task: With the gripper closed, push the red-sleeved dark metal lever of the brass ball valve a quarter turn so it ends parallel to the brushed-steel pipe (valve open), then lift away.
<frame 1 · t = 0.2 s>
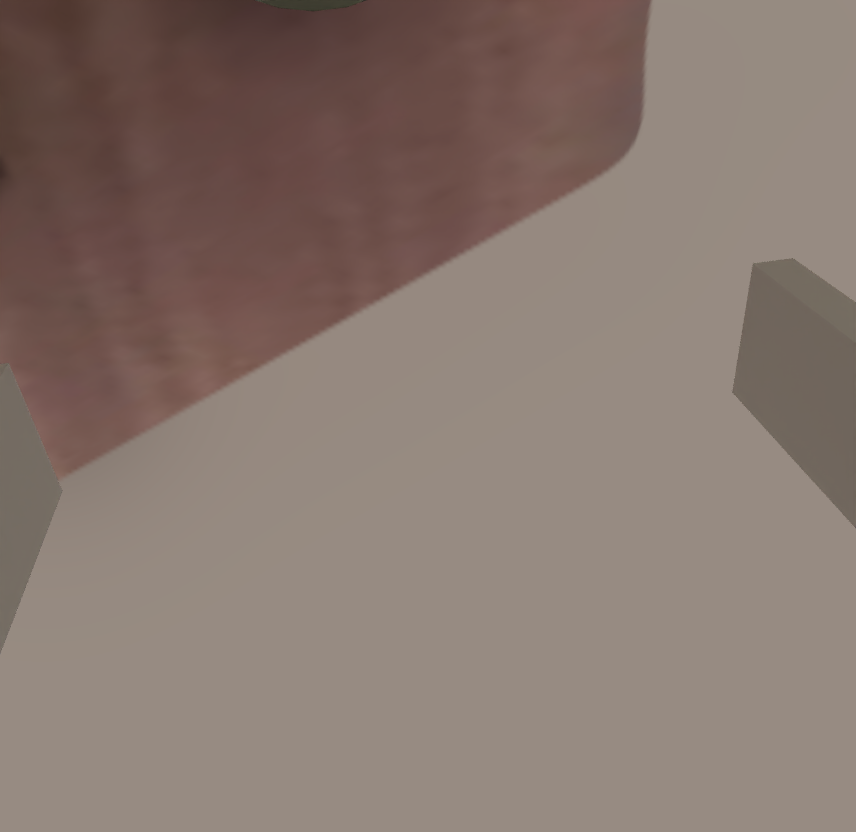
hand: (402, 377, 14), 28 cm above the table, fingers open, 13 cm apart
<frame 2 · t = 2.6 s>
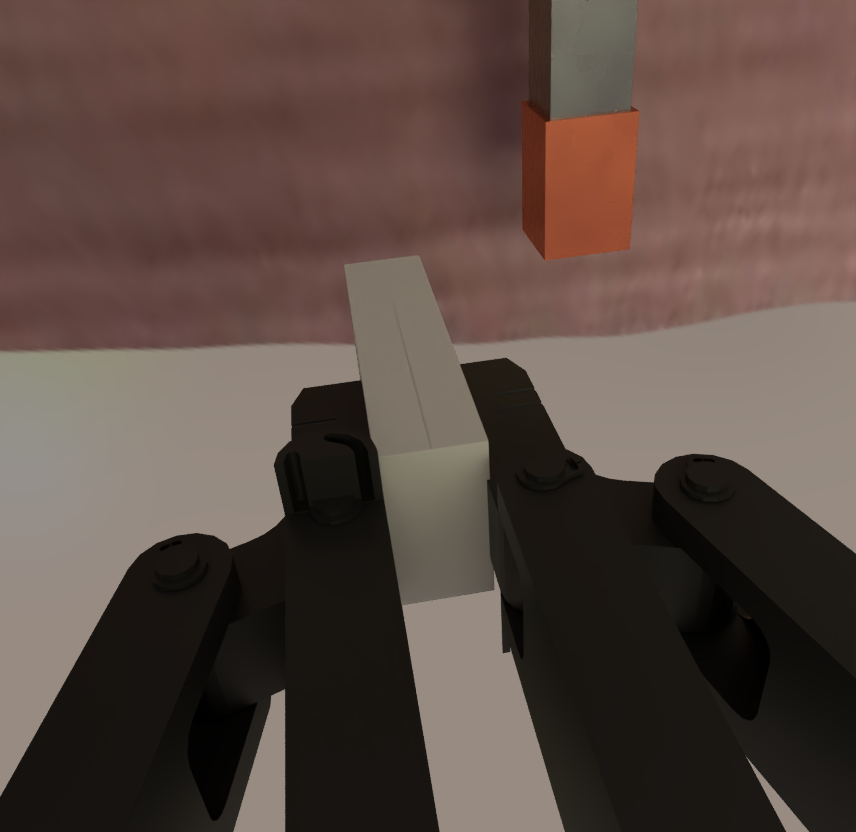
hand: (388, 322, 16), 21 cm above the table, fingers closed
lever: (581, 26, 24), point 10 cm above the table, hinge at 0.0°
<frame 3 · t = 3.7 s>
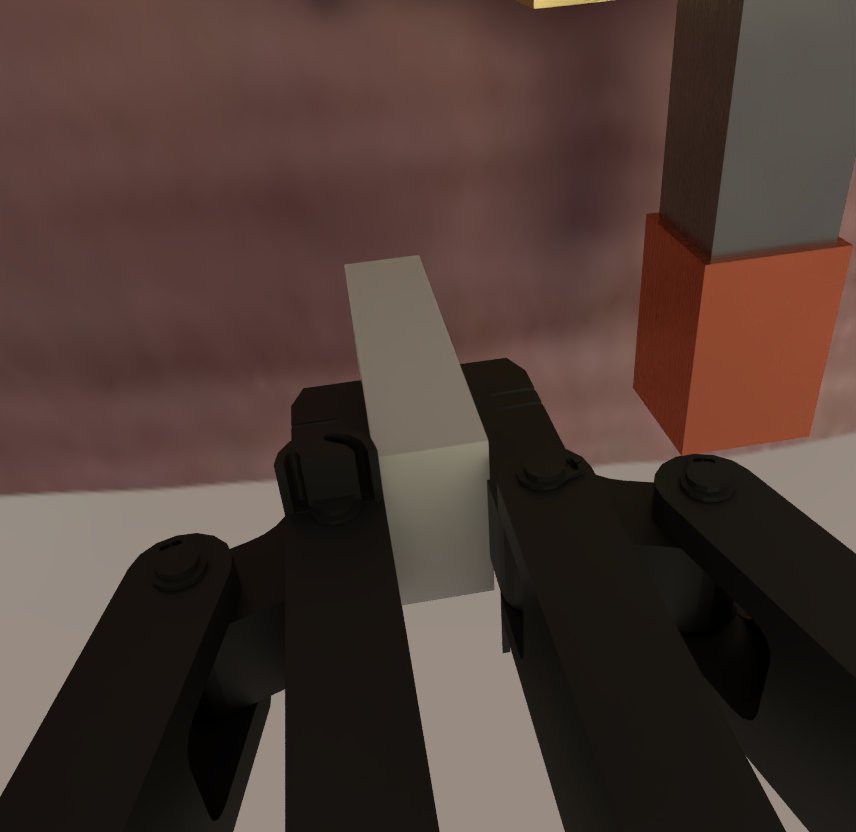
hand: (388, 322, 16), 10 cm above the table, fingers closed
lever: (764, 111, 15), point 10 cm above the table, hinge at 0.0°
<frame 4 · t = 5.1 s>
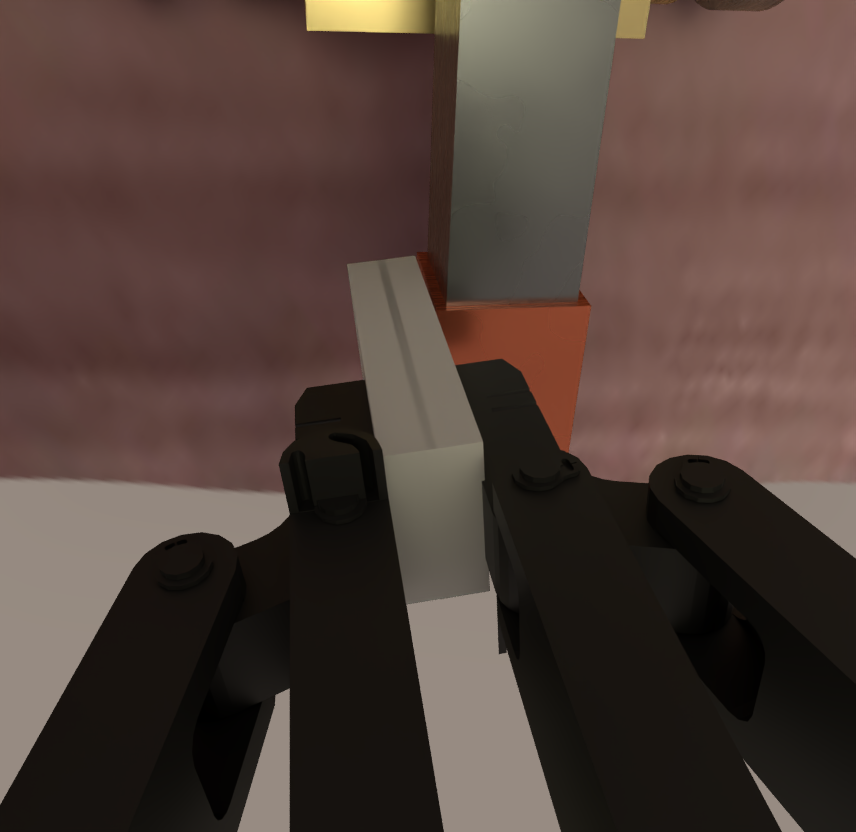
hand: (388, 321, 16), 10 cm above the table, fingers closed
lever: (510, 162, 14), point 10 cm above the table, hinge at 0.5°, touching gripper
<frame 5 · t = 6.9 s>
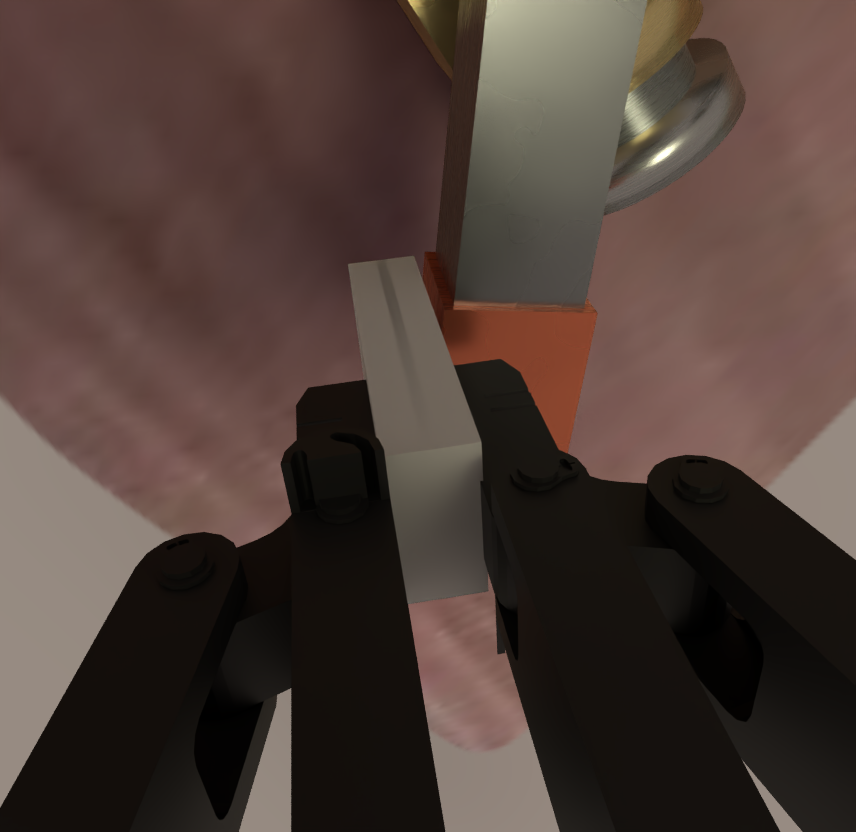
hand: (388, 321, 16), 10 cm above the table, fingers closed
lever: (524, 165, 15), point 10 cm above the table, hinge at 50.0°, touching gripper
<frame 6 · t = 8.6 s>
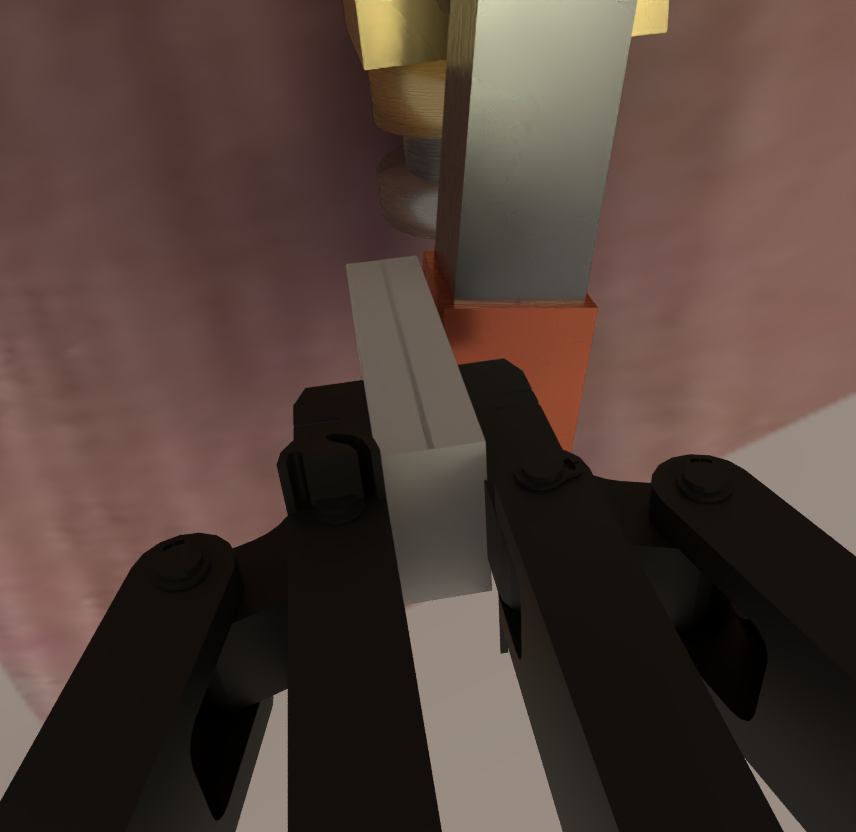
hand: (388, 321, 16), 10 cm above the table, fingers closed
lever: (520, 162, 14), point 10 cm above the table, hinge at 81.3°, touching gripper
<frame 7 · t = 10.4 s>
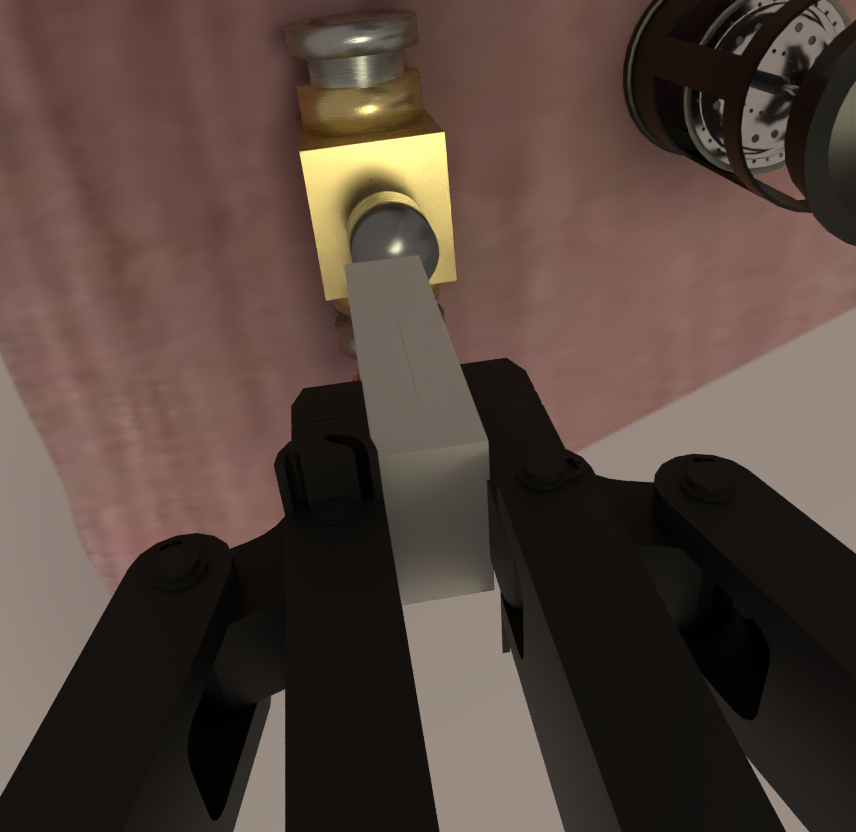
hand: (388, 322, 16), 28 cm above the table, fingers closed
french press: (709, 53, 42), on the table
lever: (388, 346, 36), point 10 cm above the table, hinge at 81.3°
pipe valve: (367, 179, 43), on the table
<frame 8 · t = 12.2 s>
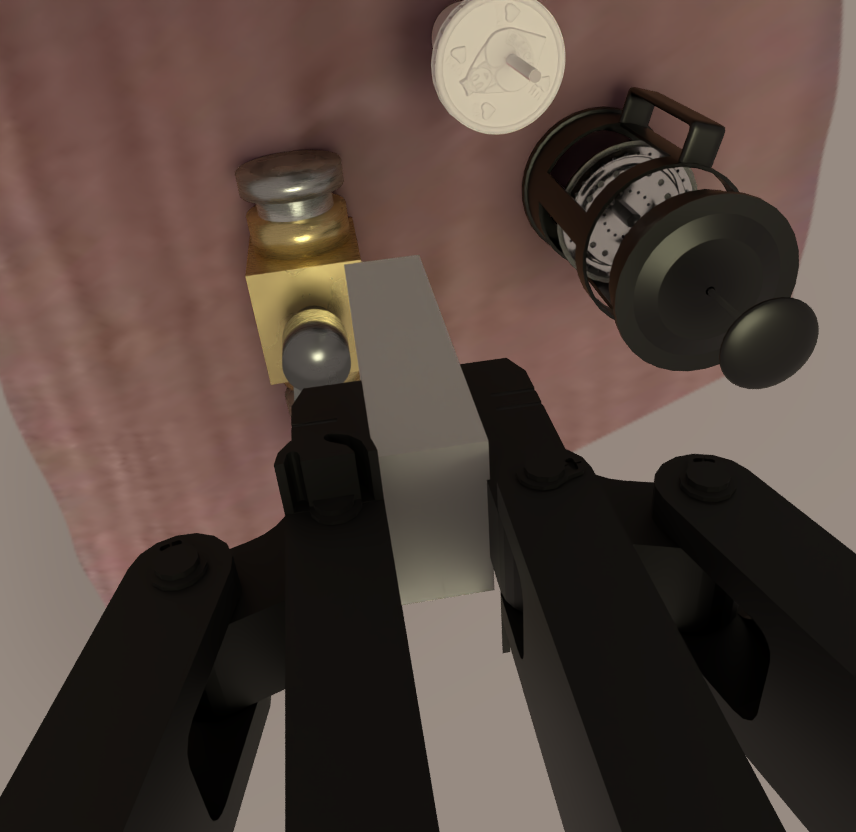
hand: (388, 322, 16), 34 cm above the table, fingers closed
french press: (594, 174, 51), on the table
lever: (317, 425, 46), point 10 cm above the table, hinge at 81.3°
pipe valve: (311, 275, 52), on the table
smoothie: (462, 36, 46), on the table
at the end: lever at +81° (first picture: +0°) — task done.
